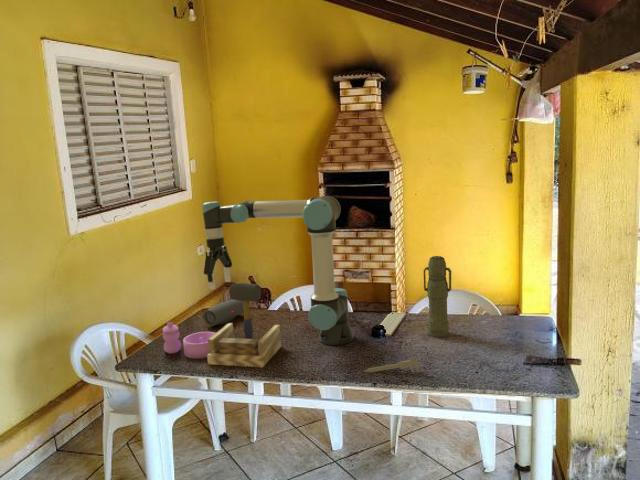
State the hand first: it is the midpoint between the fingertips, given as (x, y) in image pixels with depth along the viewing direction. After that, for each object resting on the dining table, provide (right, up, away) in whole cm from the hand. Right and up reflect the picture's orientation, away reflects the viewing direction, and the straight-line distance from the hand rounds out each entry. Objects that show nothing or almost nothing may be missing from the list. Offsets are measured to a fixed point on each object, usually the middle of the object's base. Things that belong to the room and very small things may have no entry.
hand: (220, 285), depth 243 cm
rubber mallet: (+14, -28, -4) cm, 31 cm away
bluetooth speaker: (-4, -22, +38) cm, 44 cm away
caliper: (+71, -30, -33) cm, 84 cm away
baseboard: (+76, -21, +20) cm, 81 cm away
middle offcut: (+11, -27, -14) cm, 32 cm away
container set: (-12, -29, 0) cm, 32 cm away
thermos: (+96, -22, +3) cm, 99 cm away
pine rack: (+12, -29, -7) cm, 32 cm away
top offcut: (+10, -24, -14) cm, 30 cm away
